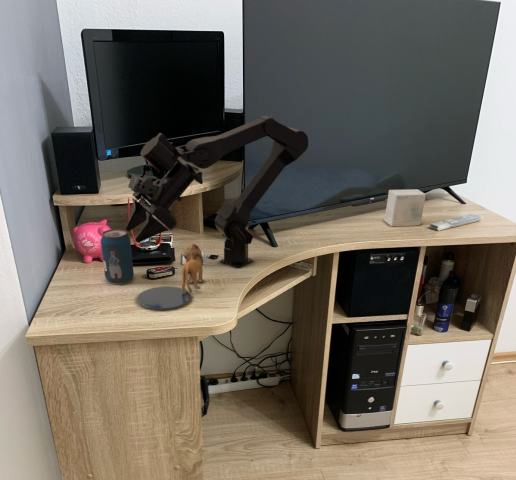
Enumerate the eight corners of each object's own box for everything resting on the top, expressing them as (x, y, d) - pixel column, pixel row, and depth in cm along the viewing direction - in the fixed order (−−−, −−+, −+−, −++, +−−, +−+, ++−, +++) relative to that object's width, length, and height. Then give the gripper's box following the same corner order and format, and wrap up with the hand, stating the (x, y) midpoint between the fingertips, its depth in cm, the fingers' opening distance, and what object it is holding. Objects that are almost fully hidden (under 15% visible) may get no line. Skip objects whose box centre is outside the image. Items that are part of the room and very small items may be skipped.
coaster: (164, 284, 132) (164, 282, 132) (201, 297, 126) (200, 295, 126) (126, 300, 124) (126, 298, 124) (163, 315, 118) (163, 313, 117)
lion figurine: (183, 277, 137) (181, 242, 134) (204, 276, 138) (203, 241, 134) (180, 295, 124) (178, 257, 120) (203, 295, 124) (202, 257, 121)
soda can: (128, 272, 138) (123, 226, 132) (138, 281, 133) (133, 234, 127) (101, 277, 135) (95, 230, 129) (110, 287, 130) (104, 239, 124)
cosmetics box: (391, 226, 176) (396, 194, 171) (383, 221, 182) (388, 189, 177) (421, 225, 178) (426, 193, 173) (412, 219, 184) (417, 188, 178)
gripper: (137, 154, 131) (96, 204, 132) (159, 170, 117) (113, 226, 118) (170, 185, 138) (131, 231, 139) (195, 203, 124) (151, 255, 125)
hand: (131, 235), depth 130 cm, fingers open, 9 cm apart
